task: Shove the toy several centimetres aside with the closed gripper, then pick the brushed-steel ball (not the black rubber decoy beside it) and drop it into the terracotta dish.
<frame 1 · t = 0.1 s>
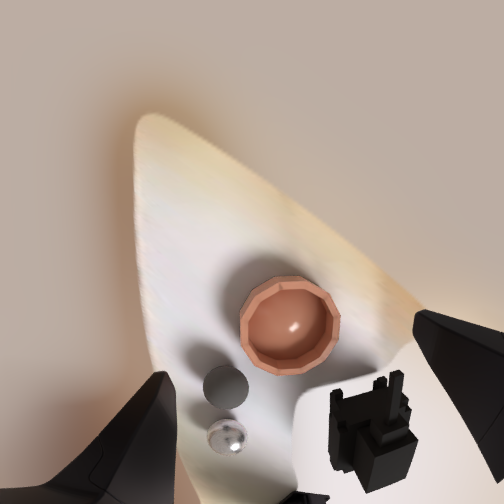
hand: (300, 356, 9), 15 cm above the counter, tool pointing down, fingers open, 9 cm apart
steel ball: (227, 437, 23), point 2 cm above the counter
dish: (286, 321, 25), on the counter
toy: (354, 394, 26), on the counter
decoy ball: (225, 387, 23), point 2 cm above the counter
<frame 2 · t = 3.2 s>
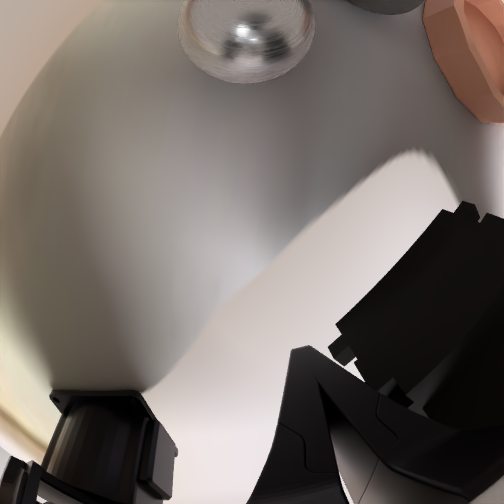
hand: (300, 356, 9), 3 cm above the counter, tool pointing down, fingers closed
steel ball: (246, 24, 6), point 2 cm above the counter
dish: (477, 54, 8), on the counter
toy: (446, 264, 12), on the counter, touching gripper
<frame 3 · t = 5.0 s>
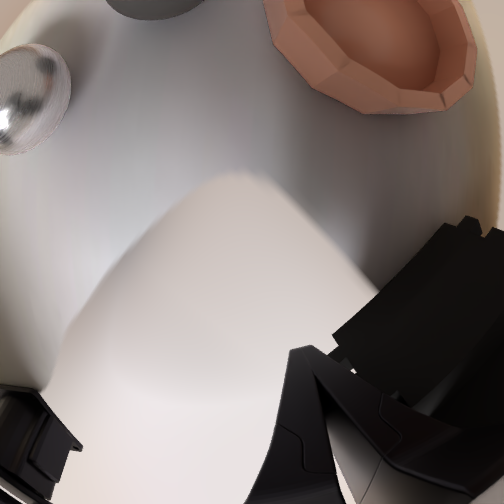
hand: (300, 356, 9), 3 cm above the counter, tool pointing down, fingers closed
steel ball: (19, 98, 6), point 2 cm above the counter
dish: (365, 24, 8), on the counter
toy: (444, 278, 12), on the counter, touching gripper
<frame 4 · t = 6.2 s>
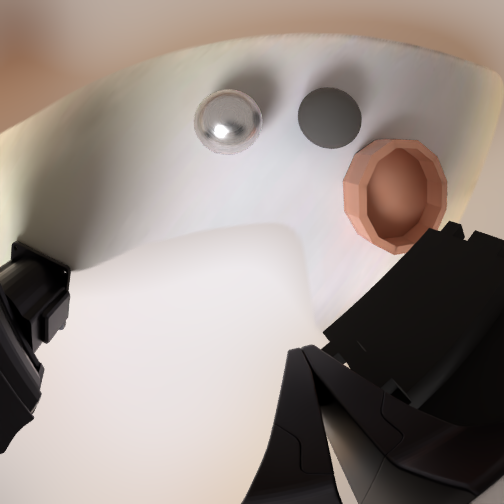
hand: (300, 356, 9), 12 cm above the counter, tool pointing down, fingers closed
steel ball: (228, 121, 15), point 2 cm above the counter
dish: (390, 192, 20), on the counter
toy: (428, 280, 14), point 8 cm above the counter
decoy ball: (329, 117, 16), point 2 cm above the counter
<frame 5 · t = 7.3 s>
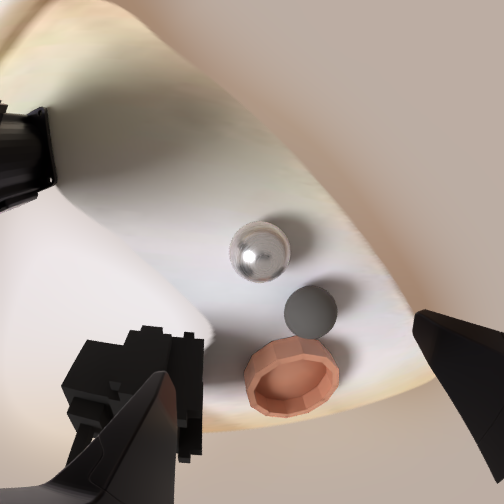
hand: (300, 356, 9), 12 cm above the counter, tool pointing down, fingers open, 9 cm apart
steel ball: (259, 252, 19), point 2 cm above the counter
dish: (288, 371, 25), on the counter
toy: (204, 422, 17), point 7 cm above the counter
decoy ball: (310, 312, 21), point 2 cm above the counter
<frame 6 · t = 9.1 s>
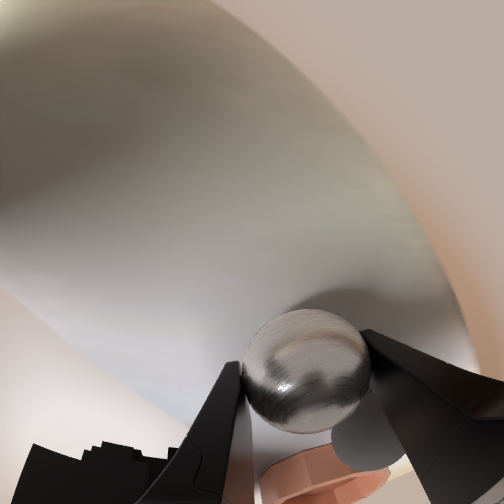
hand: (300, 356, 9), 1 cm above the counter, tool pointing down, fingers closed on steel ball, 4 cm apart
steel ball: (306, 372, 8), point 2 cm above the counter, touching gripper
dish: (320, 471, 14), on the counter
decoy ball: (373, 431, 10), point 2 cm above the counter
when the fingers open (4 cm above the counter, at t = 12.7 s): steel ball drops 3 cm, resting on dish.
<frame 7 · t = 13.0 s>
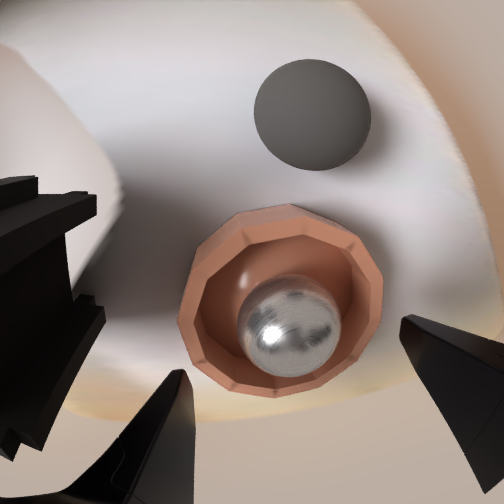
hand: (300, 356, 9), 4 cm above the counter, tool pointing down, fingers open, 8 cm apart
steel ball: (289, 325, 11), point 3 cm above the counter, touching dish
dish: (276, 295, 13), on the counter
toy: (25, 354, 5), point 7 cm above the counter
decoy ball: (312, 114, 9), point 2 cm above the counter
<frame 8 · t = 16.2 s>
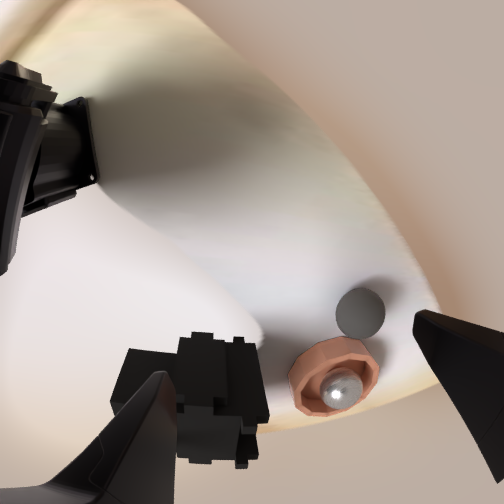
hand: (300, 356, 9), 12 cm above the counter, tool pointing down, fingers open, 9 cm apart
steel ball: (341, 388, 23), point 3 cm above the counter, tilted 7°, touching dish
dish: (329, 371, 25), on the counter
toy: (263, 426, 17), point 7 cm above the counter
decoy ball: (360, 313, 21), point 2 cm above the counter
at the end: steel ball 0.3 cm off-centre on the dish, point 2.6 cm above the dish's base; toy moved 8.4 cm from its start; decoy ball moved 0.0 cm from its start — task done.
